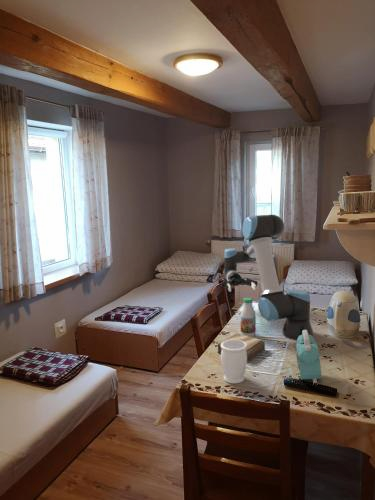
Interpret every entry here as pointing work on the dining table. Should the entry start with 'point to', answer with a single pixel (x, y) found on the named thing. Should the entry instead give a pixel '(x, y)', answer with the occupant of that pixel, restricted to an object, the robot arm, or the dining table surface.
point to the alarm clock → (308, 357)
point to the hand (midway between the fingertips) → (242, 288)
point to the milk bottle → (248, 318)
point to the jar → (233, 360)
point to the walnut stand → (252, 343)
